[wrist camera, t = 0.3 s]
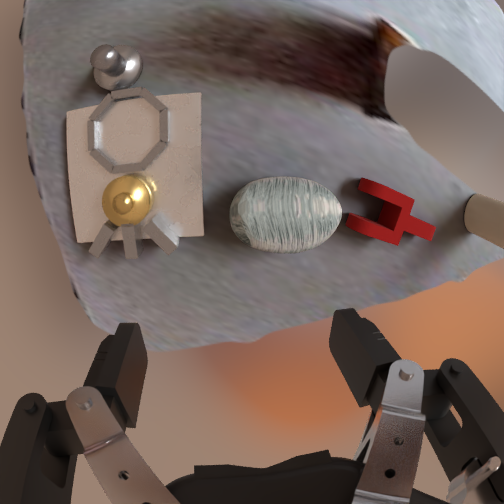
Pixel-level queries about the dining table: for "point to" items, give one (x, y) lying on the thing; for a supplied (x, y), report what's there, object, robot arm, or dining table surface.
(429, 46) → the dining table surface
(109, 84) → the silver knob
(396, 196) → the mechanical linkage
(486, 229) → the travel mug
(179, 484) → the robot arm
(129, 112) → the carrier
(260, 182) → the streaked stone egg
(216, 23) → the dining table surface
